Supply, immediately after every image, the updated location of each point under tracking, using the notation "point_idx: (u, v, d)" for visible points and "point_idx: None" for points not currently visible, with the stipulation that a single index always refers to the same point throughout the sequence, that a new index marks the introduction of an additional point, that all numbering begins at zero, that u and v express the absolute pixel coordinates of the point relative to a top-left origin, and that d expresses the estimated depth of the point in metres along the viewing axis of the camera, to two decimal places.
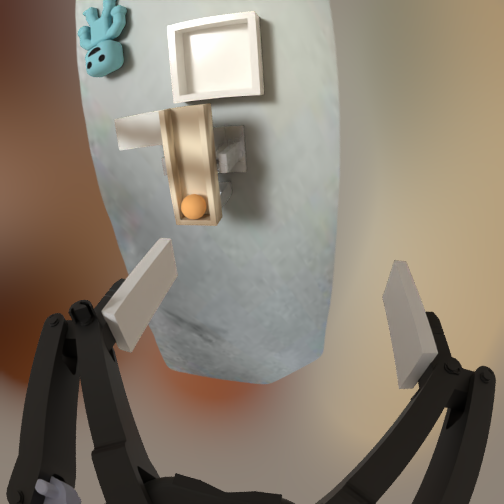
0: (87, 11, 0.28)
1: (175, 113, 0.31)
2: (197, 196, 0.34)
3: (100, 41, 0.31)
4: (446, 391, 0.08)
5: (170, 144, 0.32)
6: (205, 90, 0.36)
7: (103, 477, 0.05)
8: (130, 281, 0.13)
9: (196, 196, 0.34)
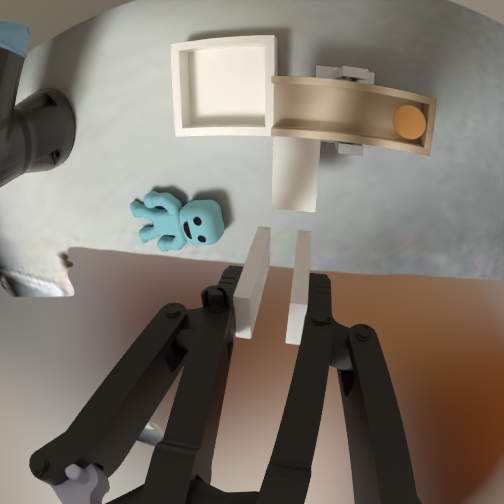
0: (141, 236, 0.44)
1: (280, 120, 0.25)
2: (396, 111, 0.21)
3: (179, 223, 0.40)
4: (325, 342, 0.10)
5: (321, 130, 0.23)
6: None
7: (154, 472, 0.06)
8: (250, 266, 0.14)
9: (395, 111, 0.20)
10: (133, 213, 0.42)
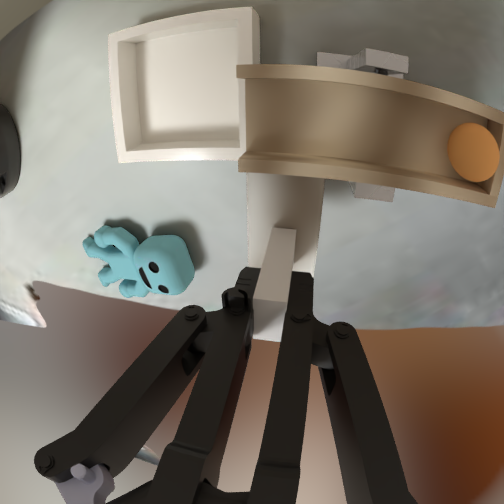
0: (101, 280, 0.34)
1: (258, 141, 0.15)
2: (456, 133, 0.11)
3: None
4: (305, 339, 0.10)
5: (326, 162, 0.14)
6: None
7: (162, 473, 0.06)
8: (268, 268, 0.14)
9: (456, 134, 0.11)
10: (87, 253, 0.32)
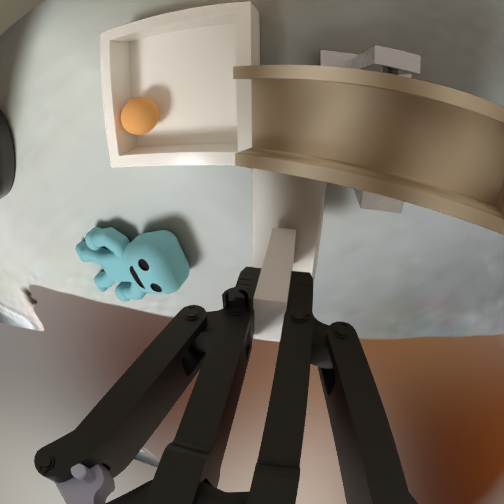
0: (97, 284, 0.33)
1: (262, 138, 0.16)
2: None
3: None
4: (305, 339, 0.10)
5: (316, 162, 0.14)
6: None
7: (162, 473, 0.06)
8: (268, 268, 0.14)
9: None
10: (80, 257, 0.31)
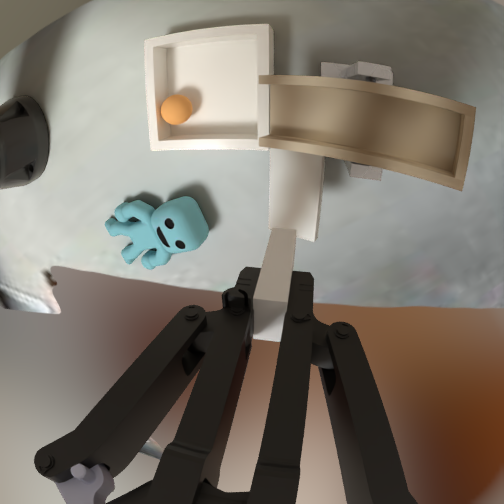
0: (124, 257, 0.38)
1: (278, 128, 0.21)
2: (190, 101, 0.25)
3: (156, 232, 0.33)
4: (305, 339, 0.10)
5: (317, 143, 0.19)
6: None
7: (162, 473, 0.06)
8: (268, 268, 0.14)
9: (190, 101, 0.25)
10: (109, 232, 0.36)
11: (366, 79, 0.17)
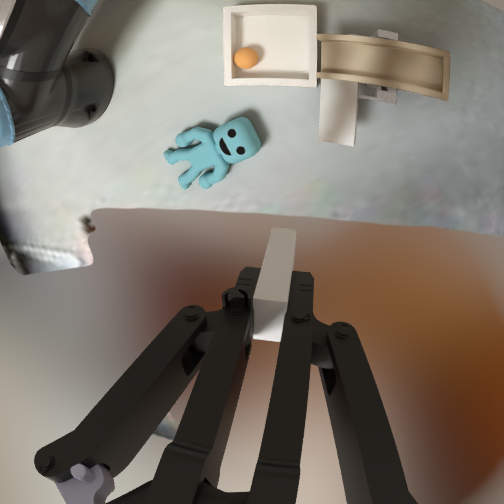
0: (181, 182, 0.44)
1: (326, 68, 0.28)
2: None
3: (215, 149, 0.39)
4: (305, 339, 0.10)
5: (355, 75, 0.26)
6: (307, 61, 0.32)
7: (162, 473, 0.06)
8: (268, 268, 0.14)
9: None
10: (168, 160, 0.43)
11: None
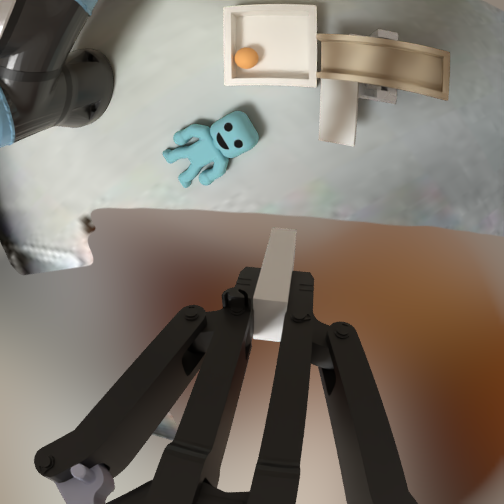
0: (182, 180, 0.44)
1: (326, 68, 0.28)
2: None
3: (213, 144, 0.39)
4: (305, 339, 0.10)
5: (355, 75, 0.26)
6: (307, 61, 0.32)
7: (162, 473, 0.06)
8: (268, 268, 0.14)
9: None
10: (167, 159, 0.42)
11: None
